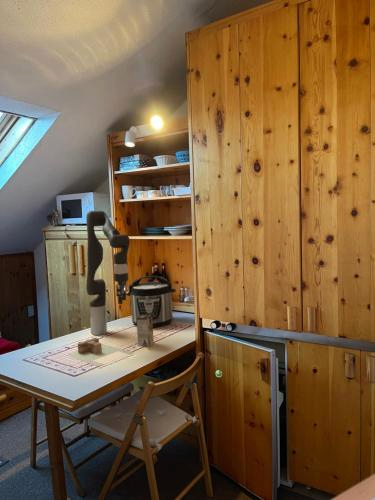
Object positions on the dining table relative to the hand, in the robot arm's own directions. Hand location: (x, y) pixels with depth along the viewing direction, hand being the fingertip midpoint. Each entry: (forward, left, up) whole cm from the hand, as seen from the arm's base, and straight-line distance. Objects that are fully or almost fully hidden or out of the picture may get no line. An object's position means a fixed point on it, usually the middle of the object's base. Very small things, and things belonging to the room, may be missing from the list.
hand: (122, 301), depth 205 cm
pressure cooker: (-22, +43, -25) cm, 54 cm away
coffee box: (+7, +9, -25) cm, 28 cm away
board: (0, -16, -25) cm, 30 cm away
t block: (-6, -16, -24) cm, 29 cm away
